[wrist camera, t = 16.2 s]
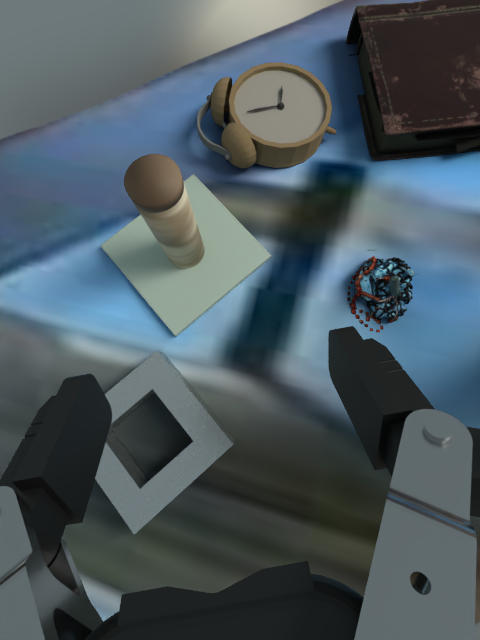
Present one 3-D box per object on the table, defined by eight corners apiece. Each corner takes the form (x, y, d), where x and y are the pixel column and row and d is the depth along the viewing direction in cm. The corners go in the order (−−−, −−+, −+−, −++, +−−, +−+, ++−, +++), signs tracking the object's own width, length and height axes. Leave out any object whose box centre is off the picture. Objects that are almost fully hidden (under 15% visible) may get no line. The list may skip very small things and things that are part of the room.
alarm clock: (349, 136, 34) (212, 153, 31) (329, 168, 39) (209, 186, 36) (315, 54, 36) (185, 63, 33) (300, 94, 41) (185, 105, 38)
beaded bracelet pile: (447, 316, 30) (404, 279, 27) (379, 349, 35) (335, 321, 31) (418, 261, 35) (379, 224, 32) (363, 296, 40) (323, 266, 36)
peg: (188, 226, 34) (157, 144, 23) (212, 252, 34) (192, 180, 22) (159, 249, 34) (112, 177, 22) (183, 276, 33) (147, 216, 22)
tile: (194, 177, 36) (193, 174, 36) (270, 257, 34) (271, 255, 34) (102, 248, 35) (100, 245, 34) (176, 336, 33) (175, 335, 32)
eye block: (164, 353, 32) (157, 350, 30) (234, 439, 30) (233, 444, 28) (75, 427, 31) (61, 430, 29) (143, 522, 29) (134, 534, 27)
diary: (343, 44, 41) (356, -3, 36) (538, 25, 41) (578, -26, 36) (370, 171, 37) (389, 137, 32) (588, 149, 36) (641, 112, 31)
